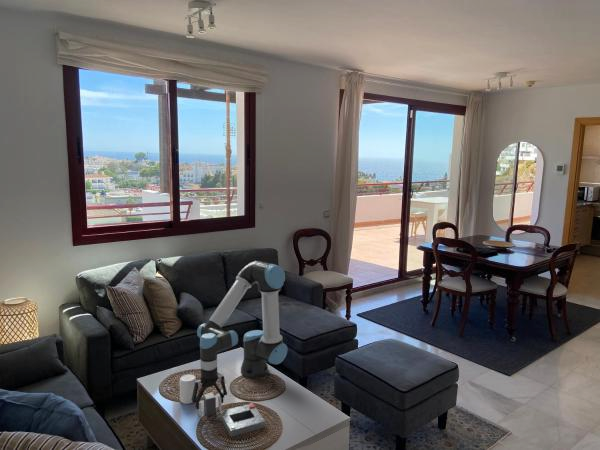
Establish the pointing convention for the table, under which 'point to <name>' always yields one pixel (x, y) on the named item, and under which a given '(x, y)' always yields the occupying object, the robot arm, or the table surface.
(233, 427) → the socket
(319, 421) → the table surface
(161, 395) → the table surface
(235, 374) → the table surface
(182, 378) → the white upside-down cup
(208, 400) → the plug
